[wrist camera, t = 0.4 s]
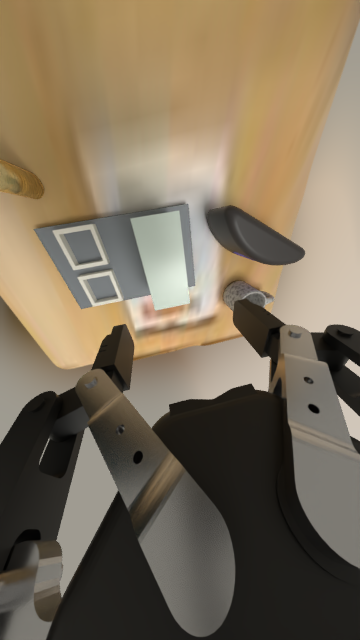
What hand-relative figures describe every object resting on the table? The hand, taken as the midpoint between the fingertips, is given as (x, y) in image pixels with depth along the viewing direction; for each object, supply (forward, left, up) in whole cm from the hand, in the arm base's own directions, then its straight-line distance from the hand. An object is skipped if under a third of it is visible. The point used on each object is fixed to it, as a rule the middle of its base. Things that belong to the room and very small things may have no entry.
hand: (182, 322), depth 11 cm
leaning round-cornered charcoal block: (-2, +16, -23) cm, 28 cm away
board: (-1, -6, -22) cm, 23 cm away
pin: (-13, -16, -22) cm, 30 cm away
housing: (-1, 0, -21) cm, 21 cm away
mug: (+11, +18, -23) cm, 31 cm away
